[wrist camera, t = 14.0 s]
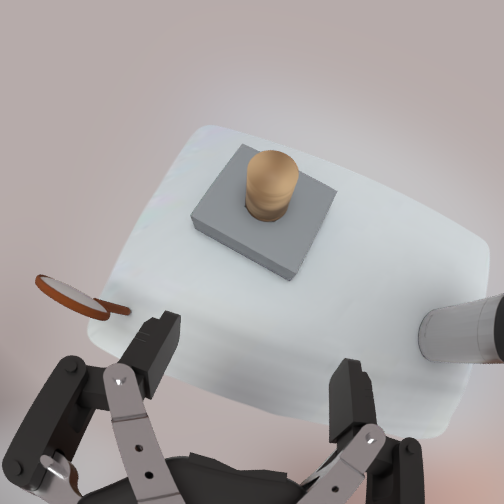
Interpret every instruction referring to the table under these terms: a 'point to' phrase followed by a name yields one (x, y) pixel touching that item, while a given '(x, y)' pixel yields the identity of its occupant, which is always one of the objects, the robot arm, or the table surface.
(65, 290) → the magnifying glass
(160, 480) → the robot arm
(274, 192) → the peg
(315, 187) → the board
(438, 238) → the table surface
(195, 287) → the table surface
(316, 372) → the table surface
